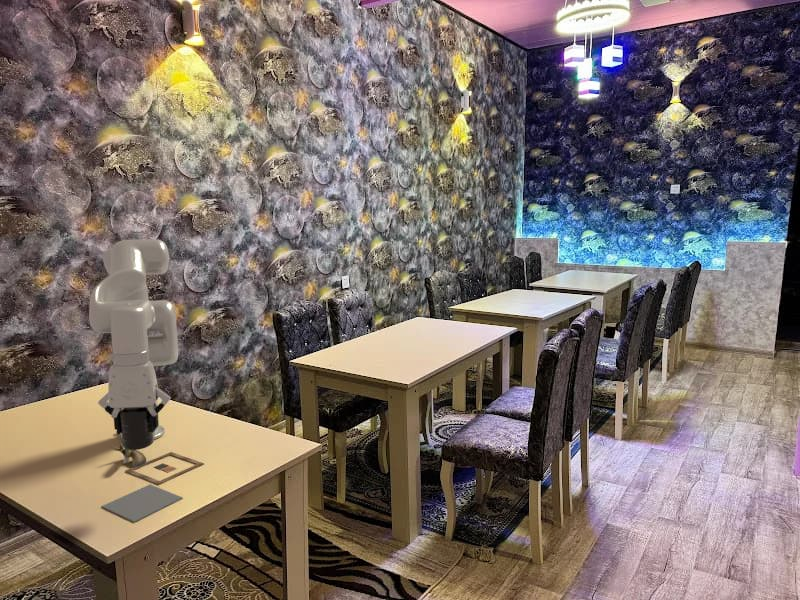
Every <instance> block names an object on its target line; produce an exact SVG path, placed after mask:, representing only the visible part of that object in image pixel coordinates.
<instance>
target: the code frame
mask: <svg viewBox="0 0 800 600" xmlns="http://www.w3.org/2000/svg"><path fill="white" fill-rule="evenodd" d="M171 456H172V457H174V458H176V459H180V460H182V461H186V462H188V463H191V464H194V465H192V466H190V467H188V468H185V469H183V470H181V471H178V472H177V473H174V474H172V475H170V476H168V477H166V478H165V477H164V478H163V479H161V480H159V479H156V478H153V477H150V476H148V475H145V474H143V473H141V472H137V471H135V470H138V469H141V468H143V467H145V466H147V465H150V464H153V463H156V462H158V461H159V460H162V459H165V458H167V457H171ZM203 464H204V465H205V463H204V462H202V461H199V460H196V459H193V458H189V457H187V456H183V455H181V454H178V453H174V452H172V451H170V452H167V453H164V454H163V455H159V456H157V457H156V458H154V459H150V460H149V461H146V462H145V463H144V464H143V465H142V466H139V467H137V466H136V467H135V466H132V467H131V468H128V469H125V470H124V471H125V473H127V472H128V473H127V474H130V475H132V474H133V476H135V477H137V476H138V478H140V477H141V478H140V479H142V478H143V479H142V480H145V481H147V480H148V481H147V482H150V481H151V482H150V483H152V482H153V484H155V485H157V486H160V485H161V484H164V483H166V482H168V481H171V480H173V479H175V478H177V477H179V476H181V475H184V474H186V473H187V472H191V471H192V470H194V469H196V468H199V467H202V466H204V465H203ZM153 468H154V469H157V470H161V471H162V472H165V473H170V472H172V471H175V470H177V467H174V466H171V465H168V464H166V463H164V462H162V463H160V464H158V465H155V466H153ZM133 470H134V471H133Z"/></svg>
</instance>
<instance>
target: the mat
mask: <svg viewBox="0 0 800 600" xmlns="http://www.w3.org/2000/svg"><path fill="white" fill-rule="evenodd" d="M183 499H184V498H183V496H180V495H178V494H175V493H174V492H170V491H167V490H164V489H163V488H160V487H157V486H155V485H153V484H147V485H145V486H143V487H140V488H139V489H136V490H134V491H133V492H130V493H128V494H125V495H123V496H121V497H119V498H116V499H114V500H112V501H109V502H108V503H104V504H103V505H101V508H102V509H104V510H107V511H109V512H110V513H113V514H115V515H117V516H119V517H121V518H124V519H126V520H128V521H130V522H132V523H134V524H135V523H137V522H139V521H141V520H143V519H145V518H146V517H148V516H149V517H150V516H152V515H153V514H155V513H157V512H159V511H161V510H163V509H165V508H167V507H169V506H171V505H172V504H175V503H177V502H179V501H181V500H183Z"/></svg>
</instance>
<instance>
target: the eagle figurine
mask: <svg viewBox="0 0 800 600" xmlns="http://www.w3.org/2000/svg"><path fill="white" fill-rule="evenodd" d="M118 447H119V448H118ZM118 447H115V446H113V445H112V446H111V448H112V449H113V450H115V451H117V452H120V453H121V454H122V455H123V460H122V461H123V463H122V465H125V464H126V463H127V462H128V460H129V458H131V460H132V467H136V466H137V467H139V466H142V465H143V464H144V463H145V462H147V458H146V456H145V455H144V453H143V452H141V451H139V450H127V449H125V448H124V447H123V444H120V445H119V446H118Z"/></svg>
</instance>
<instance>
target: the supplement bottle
mask: <svg viewBox="0 0 800 600" xmlns="http://www.w3.org/2000/svg"><path fill="white" fill-rule="evenodd" d="M150 415H151V414H150V412H149V410H148V409H147V407H143V408H122V410H121V412H120V424H121V434H122V439H121V441H122V447H123V449H127V450H137V451H139V450H142V449H145V448H148V447H150V446H151V445H152V444H153V443H154V440H155V439H154V438H153V432H150V424H149V417H150ZM121 434H120V435H121Z"/></svg>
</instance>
